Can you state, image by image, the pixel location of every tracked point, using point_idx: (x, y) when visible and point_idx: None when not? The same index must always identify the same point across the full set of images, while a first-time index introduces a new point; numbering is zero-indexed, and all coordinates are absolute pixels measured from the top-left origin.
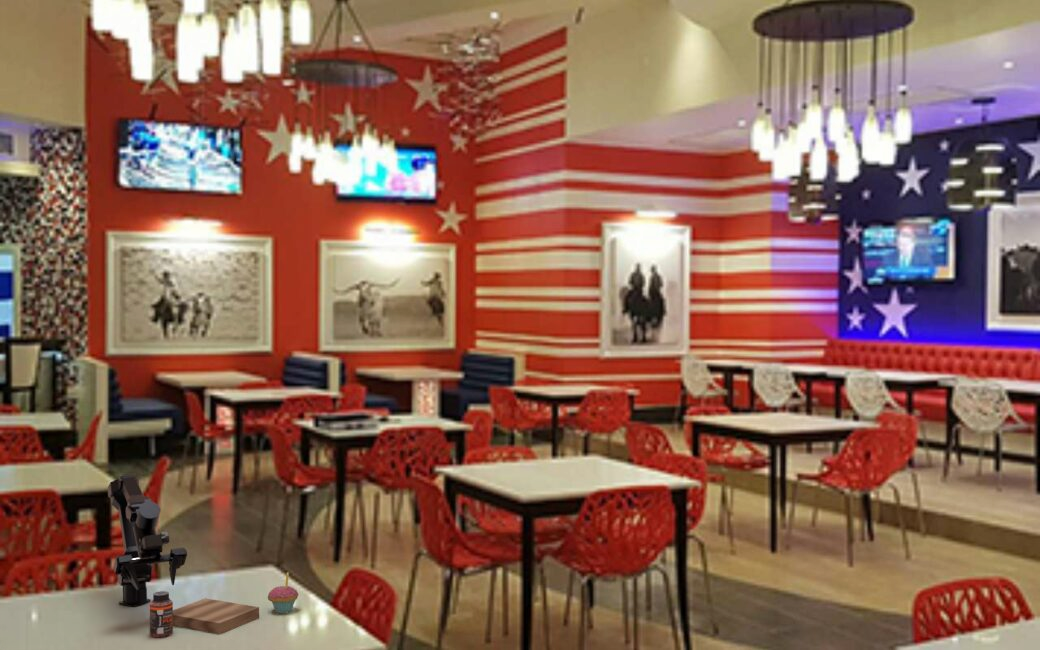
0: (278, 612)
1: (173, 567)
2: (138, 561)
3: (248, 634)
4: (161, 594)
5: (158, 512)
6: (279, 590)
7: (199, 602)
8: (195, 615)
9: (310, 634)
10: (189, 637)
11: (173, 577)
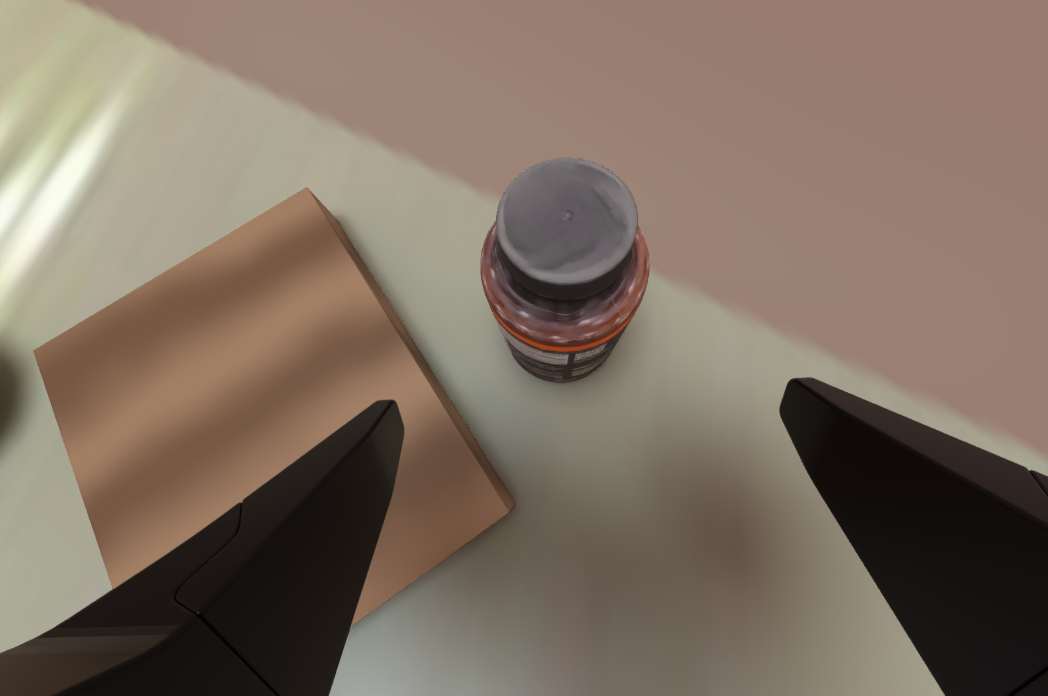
0: None
1: (205, 576)
2: None
3: (242, 168)
4: (570, 165)
5: None
6: None
7: None
8: (361, 368)
9: (73, 80)
10: (455, 235)
11: (345, 437)
